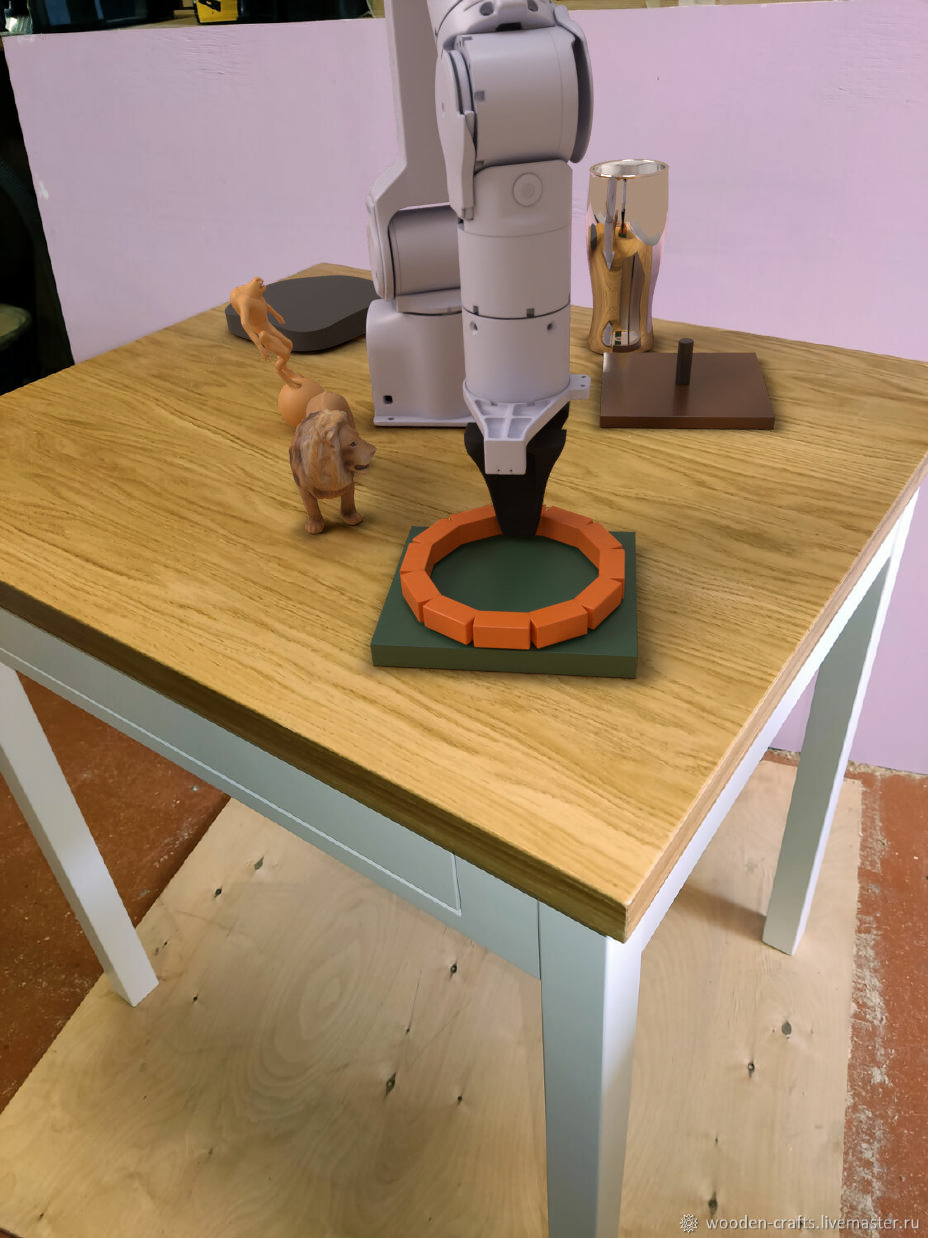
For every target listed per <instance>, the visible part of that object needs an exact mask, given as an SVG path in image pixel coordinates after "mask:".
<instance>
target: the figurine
mask: <svg viewBox="0 0 928 1238" xmlns="http://www.w3.org/2000/svg"><path fill="white" fill-rule="evenodd" d="M264 283H265V281H264V279H262V278H261V277H260V276H255V277H253V278H252V279H251V280H250V281H249V282H248V283H246V284H243V285H240V286H237V287H234V288H233V289H232V290H231V292H230V294H229V301H230V303H231V304H232V306H233V308H234V309H235V311H236V312H237V313H238V314H239V315H240V317H241V324H242V326H243V328H244V329H245V331H246V332H247V334H248V335H249V336H250V338H251V339H252V340H251V341H252V343H254V345H255V346H256V347H257V349H258V350H259V353H260V355H261V356H262V358H263V359H264V362H265V363H266V364H268V362H269V363H272V361H274V358H273V357H272V356H271V355H270V354H272V353H273V354H274V355H276V356H277V360H276V361H275V363H274V367H275V371H276V374H277V375H278V376H279V378H280V379H282V380H283V382H285V384H284V385H283V387H282V388H281V390H280V392H279V393H278V398H277V407H278V411H279V413H280V416H281V418H282V419H283V420H284V421H285V422H286V423H287V424H288V425H290V426H292V427H294V428H295V429H296V428H297V426H298V425H299V424H300V423H301V420H302V419H305V418H306V408H307V405H308V403H309V401H310V400H311V399H312V398H313V397H315V396H317V395H319V394H321V393H323V392H325V391H326V390H325V389H324V388H323V386H322V385H321V384H320V383H318V382H317V381H315V380H314V379H311V378H307V377H305V376H304V375H303V374H301V373H296V372H294V371H293V370H292V369H291V368H289V367H288V366H287V363H288V362H289V360H290V358H291V357H290V356H291V352H292V347H293V344H292V342H291V340H289V339H288V338H286V337H285V336H284V335H283V334H282V333H280V332H279V331H278V330H276V329H275V327H274V326H272V325H271V323H270V322H268V316H267V311H268V312H270V313H272V314H273V315H274V316H275V317H276V319H277V320H278V321H279V323H280V324H281V322H282V323H283V324H284V323H285V321H284V320H283V318H282V317H281V316H280V315H279V314H278V313H277V312H276V311H275V310H274V309H273V308H272V307H271V306H270V305H269V304H267V303H266V301H265V299H264V297H263V296H262V294H263V293H264V292H265V291H266V284H264ZM280 321H281V322H280ZM285 324H286V323H285ZM254 332H255V333H256V334H258V336H259V338H258V336H257V335H256V334H255V333H254ZM271 360H272V361H271Z"/></svg>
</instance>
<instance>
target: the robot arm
mask: <svg viewBox="0 0 928 1238" xmlns="http://www.w3.org/2000/svg"><path fill="white" fill-rule="evenodd" d="M383 8H384V19H385V28H386V29H385V30H386V39H387V48H388V50H387V51H388V60H389V69H390V71H389V72H390V78H391V79H390V80H391V81H390V82H391V90H392V91H391V92H392V100H393V108H394V121H395V130H396V131H395V132H396V140H397V150H398V152H397V153H398V155H397V157H396V158H395V160H394V161H393V162H392V163H391V164H390V165H389V166H388V167H387V168H386V169H385V170H384V171H383V172H381V174H380V175H379V176H378V177H377V178H376V179H375V180H374V182H373V183H371V184H370V186H369V188H368V190H367V196H366V197H365V201H364V202H365V210H366V243H367V251H368V253H367V254H368V258H369V259H368V260H369V266H370V272H371V273H370V274H371V277H372V281H373V283H374V287H375V290H376V293H377V295H378V296H380V297H381V298H383V299H378V300H374V301H372V302H371V304H370V306H369V309H368V314H367V322H366V333H365V343H366V355H367V362H368V369H369V378H370V385H371V387H370V388H371V394H372V402H373V403H372V404H373V410H374V417H373V425H374V426H376V427H377V426H378V427H453V428H454V427H457V428H458V427H463V428H465V430H464V433H463V444H464V448H465V451H466V453H467V455H468V456H469V458H470V459H471V460H472V461H473V463H474V464H475V466H476V467H477V469H478V470H479V472H480V474H481V476H482V477H483V480H484V482H485V484H486V487H487V489H488V493H489V496H490V500H491V504H492V505H493V507H494V511H495V514H496V518H497V521H498V524H499V527H500V530H501V532H502V534H503V535H526V536H534V535H535V534H536V532H537V529H538V526H539V522H540V518H541V512H542V506H543V504H544V499H545V494H546V489H547V486H548V485H547V484H548V481H549V478H550V475H551V473H552V471H553V468H554V466H555V464H556V463H557V462H558V459H559V458H560V457H561V454H562V452H563V451H564V448H565V445H566V443H567V435H568V429H567V428H563V427H564V426H565V424H566V422H567V420H568V419H569V416H570V409H571V408H570V407H571V401H584V400H587V399H589V398H590V396H591V387H592V385H591V384H592V378H591V376H590V375H588V374H584V373H571V372H570V363H571V362H570V361H571V360H570V359H571V355H570V353H571V306H572V305H571V301H572V299H571V297H572V296H571V295H572V294H571V293H572V292H571V291H572V233H573V232H572V227H573V223H572V222H573V175H574V174H573V168H572V167H571V166H570V165H569V164H568V163H569V162H570V163H572V164H579V163H581V162H582V160H583V159H584V157H585V155H586V153H587V151H588V148H589V144H590V140H591V137H592V136H591V135H592V130H593V121H594V105H595V104H594V102H595V101H594V99H595V98H594V79H593V78H594V76H593V68H592V61H591V55H590V51H589V46H588V41H587V38H586V35H585V32H584V30H583V28H582V26H581V25H580V23H578V21H576V20H574V19H572V18H571V17H570V13H569V10H568V7H567V6H566V5H564V4H556V3H555V2H554V1H553V0H383ZM445 203H446V204H445ZM447 203H449V204H447ZM437 204H438V205H437ZM439 204H443V205H439ZM427 205H429V206H427ZM430 205H434V206H430ZM419 206H423V207H419ZM411 207H417V208H411Z"/></svg>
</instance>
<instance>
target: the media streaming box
mask: <svg viewBox="0 0 928 1238" xmlns="http://www.w3.org/2000/svg"><path fill="white" fill-rule="evenodd" d="M265 286H266V291H265V292H264V293H263V294H262V296H263V297H264V299H265V301H266V303H267V304H269V305H270V306H271V307H272V308H273V309H274V310H275V311H276V312H277V313H278V314H279V315H280V316H281V317H282V318H283V320H284V321H285V323H286V324H285V323H284V324H283V323H282V322H281V321H280V322H281V324H280V323H279V321H278V320H277V319H276V317H275V316H274V315H273V314H272V313H270V312H268V311H267V316H268V322H270V323H271V325H272V326H274V327H275V329H276V330H278V331H279V332H280V333H282V334H283V335H284V336H285V337H286V338H288V339H289V340H291V342H292V344H293V347H292V351H293V352H312V351H320V350H325V349H328V348H329V349H330V348H332V347H336V346H337V345H341V344H343V343H346V342H348V341H349V340H352V339H354V338H357V337H359V336H361V335H363V334H366V322H367V314H368V309H369V306H370V304H371V302H372V301H374V300H378V299H383V298H381V297H380V296H378V295H377V293H376V290H375V287H374V283H373V279H372V280H371V279H368V278H364V277H358V276H354V275H345V274H344V275H342V274H341V275H340V274H331V275H330V274H329V275H318V276H306V277H305V276H304V277H297V278H289V279H285V280H280V281H276V282H273V283H269V284H265ZM224 314H225V319H226V324H227V329H228V332H229V333H230V334H232V335H233V336H236V337H240V338H243V339H246V340H250V341H252V339H251V338H250V336H249V335H248V334H247V332H246V331H245V329H244V328H243V326H242V324H241V317H240V315H239V314H238V313H237V312H236V311H235V309H234V308H233V306H232V304H231V302H230V303H229V304H228V305H227V306H226V307H225V309H224ZM254 333H255V332H254ZM255 334H256V333H255ZM256 335H257V336H258V334H256ZM258 338H259V336H258ZM292 351H291V352H292Z"/></svg>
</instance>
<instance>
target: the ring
mask: <svg viewBox="0 0 928 1238" xmlns="http://www.w3.org/2000/svg"><path fill="white" fill-rule="evenodd" d="M448 518H449V519H448ZM448 518H445V517H442V518H441V519H439V520H438V521H436V522H435V523H433V524H432V525H430V526H431V527H429V528H428V529H426V530H425V531H424V532H422V533H421V534H419V535H418V536H416V537H415V538H414V539H413V543H409V546H408V548H407V551H406V554H405V557H404V560H403V563H402V566H401V569H400V577H401V586H402V594H403V596H404V598H405V600H406V601H407V603H408V604H409V606H410V608H411V609H412V611H413V613H414V614H415V616H416V617H417V619H418V621H419V622H420V623H421V622H424V624H425V627H427V628H430V629H432V630H434V631H436V632H439V633H441V634H443V635H445V636H447V637H450V638H452V639H454V640H456V641H459V642H461V643H463V644H465V645H467V644H468V643H469V642H471V641H472V640H473V639H474V646H475V647H489V648H511V649H529V648H530V643H531V640H532V642H533V643H534V644H535V646H536V647H537V648H541V647H545V646H548V645H551V644H554V643H558V642H561V641H564V640H568V639H571V638H574V637H577V636H581V635H584V634H587V628H590V629H595V628H596V627H597V626H598V625H599V624H600V623H601V622H602V621H603V620H604V619H605V618H606V617H607V616H608V615H609V614H610V613H611V612H612V611H613V610H614V609H615V608H616V607H617V606H618V605H619V604H620V603H621V599H623V598H624V584H625V550H624V549H622V544H621V543H620V542H619V541H618V540H616V539H615V538H614V537H613V536H612V535H611V534H610V533H609V532H608V531H609V530H607V529H606V528H605V527H604V526H603V525H602V524H601V523H600V522H599V521H596V522H594V519H593V518H591V517H589V516H585V515H582V514H580V513H576V512H573V511H571V510H567V509H564V508H561V507H558V506H555V505H551V506H550V507H548V508H547V504H544V503H543V506H542V512H541V518H540V522H539V526H538V529H537V532H536V534H535V535H543V536H545V537H548V538H551V539H554V540H557V541H560V542H563V543H565V544H568V545H571V546H574V547H577V548H579V549H580V550H581V551H582V552H583V553H584V554H585V556H586V557H587V558H588V559H589V560H590V561H591V562H592V563H593V564H594V565H595V566H596V567H597V568H598V569H599V577H598V578H597V579H595V580H594V581H593V582H592V583H591V584H590V585H589V586H588V587H587V588H586V589H584V590H583V591H582V592H581V593H580V594H579V595H578V596H577V597H576V598H575V599H573V600H569V601H566V602H562V603H559V604H556V605H552V606H549V607H545V608H542V609H538V610H535V611H532V612H528V613H525V612H500V611H479V610H476V609H474V608H471V607H469V606H467V605H464V604H462V603H459V602H457V601H455V600H452V599H450V598H448V597H445V596H443V595H441V594H440V592H439V591H438V589H437V588H436V586H435V585H434V583H433V582H432V581H431V579H430V576H431V573H432V569H433V566H434V564H435V563H437V562H438V561H439V560H441V559H442V558H443V557H445V556H446V555H447V554H449V553H450V552H451V551H453V550H454V549H456V548H457V547H458V546H460V545H461V544H464V543H468V542H472V541H476V540H480V539H483V538H487V537H491V536H495V535H498V534H502V532H501V530H500V527H499V524H498V521H497V518H496V514H495V511H494V507H493V504H488V505H485V506H481V507H476V508H472V509H469V510H465V511H461V512H457V513H453V514H449V516H448Z"/></svg>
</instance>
